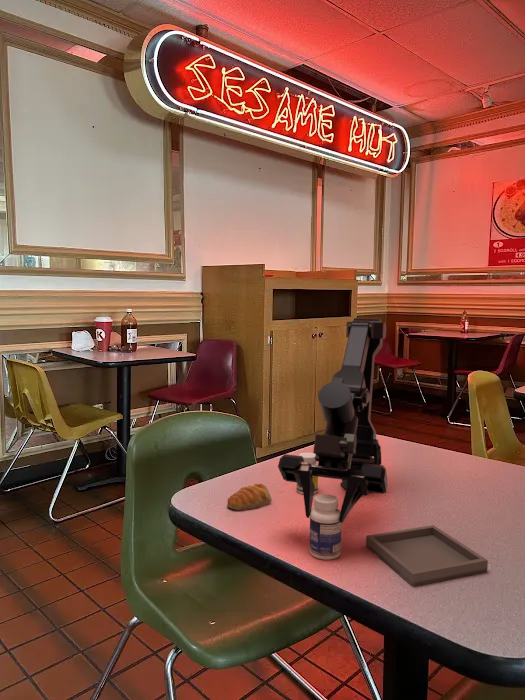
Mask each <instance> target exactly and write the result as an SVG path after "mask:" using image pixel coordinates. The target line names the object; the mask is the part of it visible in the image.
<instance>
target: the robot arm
mask: <svg viewBox="0 0 525 700" xmlns="http://www.w3.org/2000/svg"><path fill="white" fill-rule="evenodd" d="M345 337H346V338H347V343H346V347H345V350H344V356H343V360H342V362H341V363H342V364H341V367H340V369H339V370H338V371H337V372H335V373H334V374H333V376H332V378H331V381H330V382H328V383H326V384H324V385H323V386H322V387H320V389H319V390H318V391H317V392H318V393H317V398H318V402H319V406H320V409H321V413H322V417H323V420H324V421H325V422H326V425H325V429H324V433H323V434H315V436H314V443H313V444H314V445H313V451H312V453H314V454H316V455H315V460H316V462H317V464H318V465H311V464H309V463H306V462H304V459H303V457H302V456H299V455H293V454H286V453H285V454H283V455H282V456H281V457H280V458H279V461H278V465H277V468H278V470H279V473H280V474H281V476H282V480H284V481H286V482H289V483H295V484H297V483H298V486H300V487H302V489H303V494H302V495H303V502H304V511H305V516H306V518H308V519H310V512H311V510H312V509H313V507H312V506H313V503H314V497H315V496H314V495H315V494H314V489H315V486H314V483H313V480H312V479H313V476H317V477H318V478H319V477H320V478H327V479H334V480H341V482H340V484H339V485H340V486H341V487H342V488H344V489H345V494H344V497H343V501H342V504H341V508H340V510H339V511H340V519H339V521H340V523H342V524H343V523H344V521H345V519H346V518H347V517H348V515H349V513H350V512H351V511H352V509H353V508H354V506H355V505H356V504H357V502H358V501H359V500H360V499H361V498H362V497H363V496H364V497H365V496H368V495H369V493H375V494H381V495H382V494H383V495H384V494H387V490H388V474H387V468H386V467H385V466H384V465H383V464H382V448H381V445H380V443H379V439H377V430H376V429H375V427H374V425H373V423H372V421H371V415H372V414H371V413H372V412H371V411H372V401H373V400H372V399H373V387H374V386H373V385H374V370H375V357H376V356H377V355H378V353H380V350H381V349H382V348H383V345H384V344H383V342H384V340H385V339H386V337H387V323H386V322H382V319H381V318H377V317H375V318H374V317H373V318H372V317H354V318H353V320H352V321H350V320H349V321H346V331H345Z"/></svg>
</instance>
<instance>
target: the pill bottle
mask: <svg viewBox="0 0 525 700" xmlns="http://www.w3.org/2000/svg"><path fill="white" fill-rule="evenodd" d="M313 505H314V507H312V509H311V512H310V516H309V554H310V555H312V556H313V557H314V558H316V559H320V560H325V561H326V560H327V561H328V560H335V559H337V558H338V557H339V556H340V555H341V551H342V524H343V523H340V521H339V519H340V511H341V510H339V509H338V507H339V498H338V497H337V496H335V495H332V494H318V495H315V496H314V498H313Z"/></svg>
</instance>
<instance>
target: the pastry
mask: <svg viewBox="0 0 525 700" xmlns="http://www.w3.org/2000/svg"><path fill="white" fill-rule="evenodd" d="M272 499H273V498H272V497H271V493H270V492H269V489H268V487H267V486H266V485H265V484H263V483H255V484H253V485H248V486H243V487H241V488H240V489H239V490H237V491H236V492H234V493H233V494H231V495H230V496H229V497H228V498H227V505H226V507H228V508H229V509H233V510H236V511H243V510H254V509H258V508H261V507H265V506H268V505H270V504H271V502H272Z"/></svg>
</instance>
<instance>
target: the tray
mask: <svg viewBox="0 0 525 700" xmlns="http://www.w3.org/2000/svg"><path fill="white" fill-rule="evenodd" d="M365 537H366V539H365V540H366V541H365V542H366V543H365V547H366V548H367V549H369V551H371V552H372V553H373V554H374V555H375V554H376V555H375V556H377V558H379V559H380V560H381V561H382V562H383V563H384V564H385V565H387V566H388V567H389V568H390V569H392V570H393V572H394V573H396V574H397V575H399V577H401V578H402V579H403V580H405V582H406V583H408V584H409V585H410V586H411V587H413V588H414V587H417V586H423V585H428V584H433V583H438V582H442V581H443V582H444V581H448V580H453V579H458V578H465V577H470V576H475V575H479V574H485V573H488V564H489V563H488V559H487V558H485V557H484V556H482V555H481V554H479V553H477V552H476V551H474V550H473V549H471V548H469V547H468V546H466V544H463V543H462V542H460V541H459V540H457V539H456V538H454V537H453V536H451V535H449V534H448V533H446V532H445V531H444V530H442V529H440V528H439V527H437V526H436V525H434V524H432V525H426V526H421V527H420V526H419V527H414V528H413V527H412V528H407V529H406V528H405V529H401V530H393V531H387V532H381V533H374V534H373V533H372V534H367V535H366V536H365Z"/></svg>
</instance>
